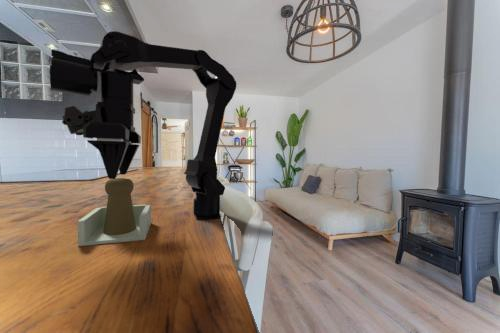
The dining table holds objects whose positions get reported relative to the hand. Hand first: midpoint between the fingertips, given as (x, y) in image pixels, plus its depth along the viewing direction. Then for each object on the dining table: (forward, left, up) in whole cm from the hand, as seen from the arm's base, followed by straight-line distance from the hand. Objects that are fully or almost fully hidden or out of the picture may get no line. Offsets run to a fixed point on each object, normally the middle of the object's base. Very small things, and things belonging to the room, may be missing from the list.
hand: (118, 176), depth 46 cm
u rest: (0, 0, -12) cm, 12 cm away
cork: (0, 0, -12) cm, 12 cm away
